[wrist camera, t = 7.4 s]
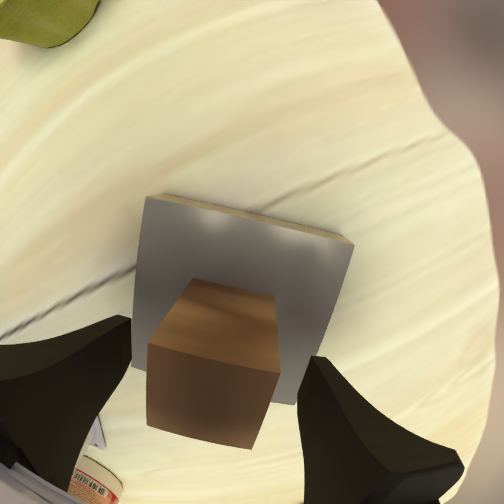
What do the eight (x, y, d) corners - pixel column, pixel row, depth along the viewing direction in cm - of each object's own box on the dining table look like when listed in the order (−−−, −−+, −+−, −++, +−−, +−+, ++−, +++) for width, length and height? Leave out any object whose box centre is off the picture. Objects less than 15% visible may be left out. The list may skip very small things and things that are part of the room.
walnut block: (183, 346, 15) (146, 425, 9) (192, 277, 14) (147, 342, 8) (256, 362, 15) (251, 449, 9) (274, 296, 14) (280, 373, 8)
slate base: (147, 342, 18) (131, 366, 15) (166, 193, 16) (145, 196, 13) (291, 376, 18) (294, 405, 15) (339, 233, 16) (354, 245, 13)
